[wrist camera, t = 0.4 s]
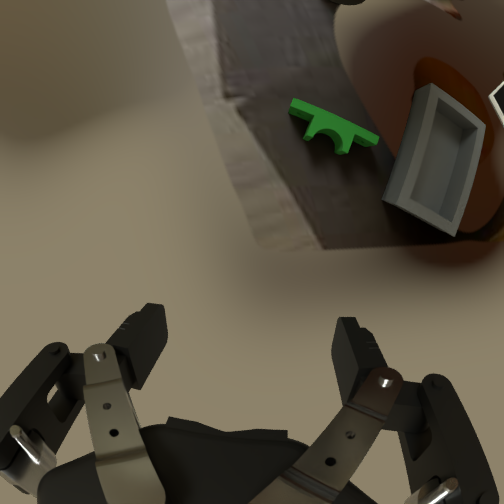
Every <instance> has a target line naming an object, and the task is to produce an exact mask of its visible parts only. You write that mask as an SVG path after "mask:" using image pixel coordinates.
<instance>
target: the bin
mask: <svg viewBox="0 0 504 504" xmlns="http://www.w3.org/2000/svg"><path fill="white" fill-rule="evenodd" d="M485 126H486V125H485V124H484V123H483V122H482V121H480V120H479V119H478V118H477V117H476V116H475V115H474V114H472V113H471V112H470V111H469V110H468V109H466V108H465V107H464V106H463V105H461V104H460V103H459V102H457V101H456V100H455V99H454V98H452V97H451V96H449V95H448V94H447V93H445V92H444V91H443V90H441V89H440V88H438V87H437V86H435V85H434V84H432V83H430V84H428V85H426V86H424V87H422V88H420V89H418V90H415V93H414V97H413V101H412V105H411V109H410V113H409V117H408V120H407V124H406V127H405V131H404V135H403V138H402V141H401V144H400V148H399V151H398V154H397V157H396V160H395V163H394V166H393V169H392V172H391V175H390V178H389V180H388V183H387V186H386V189H385V192H384V194H383V197H382V200H383V201H385V202H387V203H389V204H391V205H393V206H395V207H397V208H399V209H401V210H403V211H405V212H407V213H409V214H411V215H413V216H415V217H417V218H418V219H420V220H422V221H424V222H426V223H428V224H429V225H431V226H433V227H435V228H437V229H439V230H441V231H443V232H445V233H447V234H450V235H452V236H454V237H455V234H456V232H457V229H458V226H459V223H460V221H461V218H462V216H463V213H464V209H465V206H466V204H467V201H468V197H469V194H470V191H471V188H472V184H473V180H474V177H475V173H476V169H477V165H478V161H479V157H480V153H481V148H482V143H483V138H484V132H485Z"/></svg>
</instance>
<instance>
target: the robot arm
mask: <svg viewBox="0 0 504 504" xmlns="http://www.w3.org/2000/svg"><path fill="white" fill-rule="evenodd" d="M330 1H332V2H335V3H338V4H343V5H357V4H360V3H362V2H364V1H365V0H330ZM167 338H168V330H167V323H166V316H165V309H164V306H163V305H162V304H154V303H147V304H146V305H145V306H144V307H143V308H142V309H141V311H140V312H135V313H133V314H132V315H130V316H129V317H128V318H127V319H126V320H125V321H124V322H123V324H121V326H120V327H119V328H118V329H117V330H116V331H115V333H114V334H113V335H112V336H111V337H110V338H109V339H108V341H107V342H106V343H105V344H104V343H99V344H95V345H92V346H90V347H88V348H87V349H86V350H85V352H84V353H70V352H69V349H68V346H67V345H66V344H64V343H62V342H54V343H51V344H48V345H47V346H45V347H44V348H43V349H42V350H41V352H40V353H39V354H38V355H37V356H36V357H35V358H34V359H33V360H32V361H31V362H30V364H29V365H28V366H27V367H26V368H25V369H24V370H23V371H22V373H21V374H20V375H19V376H18V377H17V378H16V380H15V381H14V382H13V383H12V384H11V385H10V387H9V388H8V389H7V390H6V392H5V393H4V394H3V395H2V397H1V398H0V476H2V477H3V478H4V479H5V480H6V481H7V482H9V483H10V484H12V485H13V486H15V487H16V488H17V489H18V490H20V491H21V492H22V493H25V494H31V495H33V496H34V497H36V498H37V504H377V503H376V502H375V501H374V500H372V499H371V498H370V497H369V496H367V495H366V494H365V493H364V492H363V491H361V490H360V489H359V488H358V487H357V486H355V485H354V484H353V483H352V482H350V481H349V479H350V478H351V477H352V475H353V474H354V472H355V471H356V469H357V468H358V466H359V465H360V463H361V462H362V460H363V459H364V457H365V456H366V454H367V452H368V451H369V449H370V448H371V446H372V444H373V443H374V441H375V439H376V437H377V436H378V434H379V432H380V430H381V429H384V430H391V431H397V432H398V435H399V439H400V443H401V448H402V452H403V456H404V460H405V465H406V470H407V475H408V479H409V485H410V489H411V496H410V497H408V499H407V500H406V501H405V503H404V504H499V495H498V491H497V487H496V484H495V481H494V479H493V476H492V473H491V470H490V467H489V464H488V462H487V459H486V456H485V454H484V452H483V449H482V447H481V444H480V442H479V439H478V437H477V435H476V433H475V430H474V428H473V426H472V424H471V421H470V419H469V417H468V415H467V413H466V411H465V409H464V407H463V405H462V403H461V401H460V399H459V397H458V395H457V393H456V392H455V389H454V388H453V386H452V384H451V382H450V381H449V380H448V379H447V378H446V377H444V376H442V375H440V374H429V375H427V376H426V377H424V379H423V380H422V383H416V382H408V381H404V380H403V378H402V375H401V374H400V373H399V372H398V371H396V370H395V369H392V368H389V367H388V366H387V363H386V361H385V359H384V357H383V355H382V353H381V351H380V349H379V346H378V344H377V343H376V340H375V338H374V336H373V334H372V333H371V332H370V331H368V330H367V329H366V328H360V326H359V324H358V322H357V320H356V318H355V317H339V318H338V320H337V325H336V329H335V334H334V338H333V343H332V350H331V353H332V354H331V355H332V360H333V365H334V369H335V373H336V377H337V382H338V386H339V391H340V395H341V400H342V405H343V407H342V409H341V410H340V411H339V413H338V414H337V415H336V416H335V418H334V419H333V420H332V421H331V423H330V424H329V425H328V426H327V427H326V429H325V430H324V431H323V432H322V433H321V435H320V436H319V437H318V438H317V439H316V441H315V442H314V443H313V444H312V445H311V446H310V447H309V446H308V445H306V444H304V443H302V442H299V441H296V440H293V439H289V438H287V437H288V436H287V435H288V434H287V432H288V431H287V430H268V429H252V430H244V431H233V432H224V431H220V430H218V429H215V428H212V427H209V426H206V425H204V424H201V423H199V422H195V421H189V420H184V419H179V418H174V417H169V418H168V420H167V422H166V424H156V425H151V426H147V427H143V428H141V425H140V423H139V420H138V417H137V415H136V412H135V409H134V407H133V404H132V401H131V398H130V395H129V391H130V389H131V388H134V389H138V390H141V388H142V387H143V385H144V383H145V381H146V379H147V377H148V375H149V374H150V372H151V370H152V368H153V367H154V365H155V363H156V361H157V360H158V358H159V356H160V354H161V352H162V351H163V349H164V347H165V345H166V343H167ZM54 385H56V387H57V388H58V390H57V392H56V393H55V394H54V396H53V397H52V399H51V400H50V401H49V403H47V395H48V393H49V391H50V390H51V389H52V387H53V386H54ZM84 404H85V406H86V412H87V418H88V424H89V429H90V434H91V438H92V443H93V447H94V451H93V452H91V453H89V454H87V455H85V456H82V457H80V458H77V459H75V460H73V461H70V462H68V463H65V464H63V465H60V466H58V467H56V463H57V461H56V456H55V455H56V453H57V451H58V449H59V448H60V446H61V444H62V442H63V440H64V438H65V437H66V435H67V433H68V431H69V429H70V428H71V426H72V424H73V422H74V421H75V419H76V417H77V416H78V414H79V412H80V410H81V409H82V407H83V405H84Z"/></svg>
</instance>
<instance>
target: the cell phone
mask: <svg viewBox="0 0 504 504" xmlns="http://www.w3.org/2000/svg"><path fill="white" fill-rule="evenodd" d="M488 98H489V100H490V102H491V104H492V106H493V108H494V110H495V112H496V113H497V116H498V118H499V120H500V122H501V124H502V126H503V128H504V81H503V82H502V83H501V84H500V85H499V86H498V87H497V88H496V89H495V90H494V91H493V92H492V93H491V94H490V95H489V96H488Z"/></svg>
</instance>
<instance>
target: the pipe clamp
mask: <svg viewBox="0 0 504 504" xmlns="http://www.w3.org/2000/svg"><path fill="white" fill-rule="evenodd" d="M288 113H289V114H292V115H294V116H297V117H299V118H302V119H304V120H307V121H309V125H308V127H307V130H306V132H305V135H304V137H303V139H304V140H306V141H309V140H310V139H312V138H313V136H314V134H317V133H324V134H326V135H328V136H330V137H331V138H332V140H333V141H334V144H335V151H334V153H336V154H339V155H341V154H346V153H348V151H349V149H350V146H351V143H352V141H354V142H356V143H358V144H360V145H362V146H364V147H368V146H373V145H377V142H378V139H379V136H377V135H375V134H373V133H371V132H369V131H367V130H365V129H363V128H361V127H359V126H357V125H355V124H353V123H351V122H349V121H347V120H345V119H343V118H341V117H339V116H336V115H334V114H332V113H330V112H327V111H325V110H323V109H320V108H318V107H316V106H313V105H311V104H308V103H306V102H303V101H301V100H298V99H295V98H293V100H292V103H291V105H290V109H289V112H288Z"/></svg>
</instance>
